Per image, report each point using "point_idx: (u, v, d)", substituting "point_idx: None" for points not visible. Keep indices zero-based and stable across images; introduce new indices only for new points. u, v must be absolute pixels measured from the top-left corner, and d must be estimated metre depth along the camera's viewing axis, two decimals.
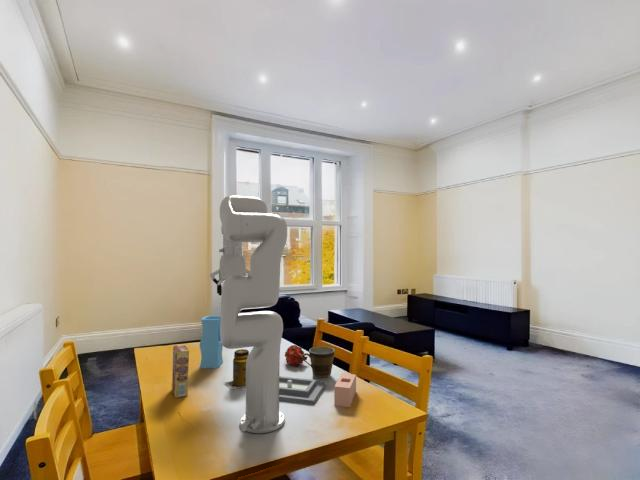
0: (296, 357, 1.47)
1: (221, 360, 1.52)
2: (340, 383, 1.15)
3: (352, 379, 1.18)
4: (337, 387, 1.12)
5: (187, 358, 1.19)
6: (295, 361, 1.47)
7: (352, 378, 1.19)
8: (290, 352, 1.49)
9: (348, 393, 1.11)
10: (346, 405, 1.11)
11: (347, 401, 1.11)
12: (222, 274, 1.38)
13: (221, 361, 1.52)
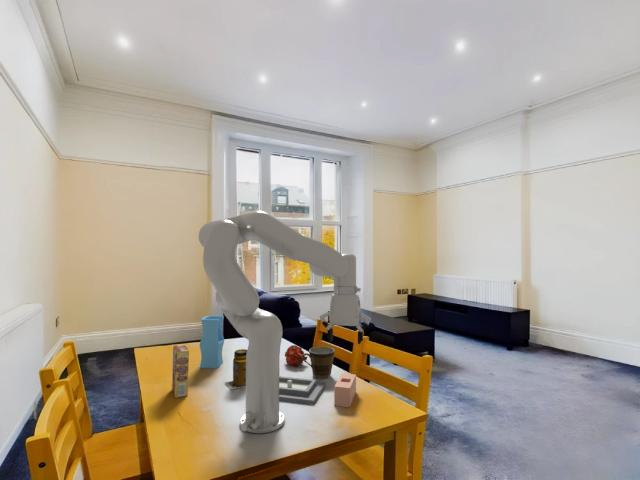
0: (296, 357, 1.47)
1: (221, 360, 1.52)
2: (340, 383, 1.15)
3: (352, 379, 1.18)
4: (337, 387, 1.12)
5: (187, 358, 1.19)
6: (295, 361, 1.47)
7: (352, 378, 1.19)
8: (290, 352, 1.49)
9: (348, 393, 1.11)
10: (346, 405, 1.11)
11: (347, 401, 1.11)
12: None
13: (221, 361, 1.52)
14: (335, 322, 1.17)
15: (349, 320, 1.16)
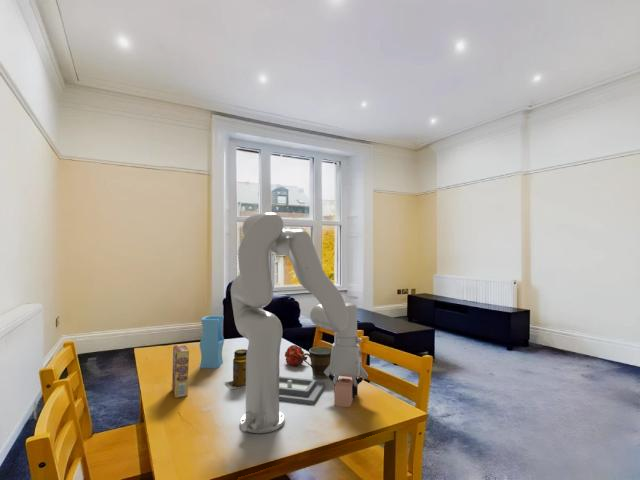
0: (296, 357, 1.47)
1: (221, 360, 1.52)
2: (340, 383, 1.15)
3: None
4: (337, 387, 1.12)
5: (187, 358, 1.19)
6: (295, 361, 1.47)
7: None
8: (290, 352, 1.49)
9: (348, 393, 1.11)
10: (346, 405, 1.11)
11: (347, 401, 1.11)
12: None
13: (221, 361, 1.52)
14: (336, 373, 1.16)
15: (350, 371, 1.15)
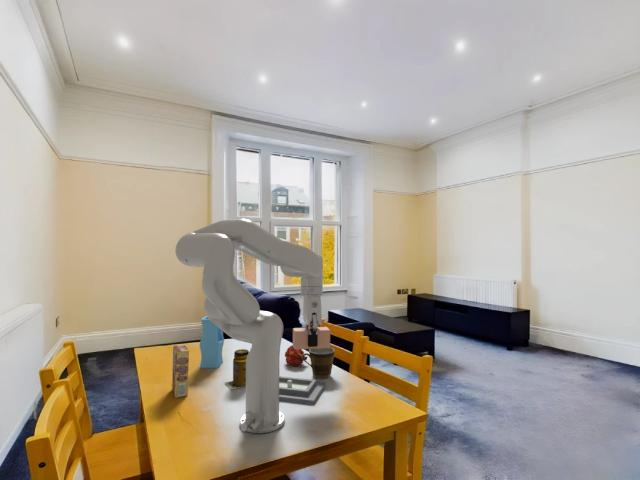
0: (296, 357, 1.47)
1: (221, 360, 1.52)
2: (301, 328, 1.22)
3: None
4: (293, 329, 1.21)
5: (187, 358, 1.19)
6: (295, 361, 1.47)
7: (319, 330, 1.20)
8: (290, 352, 1.49)
9: (294, 336, 1.18)
10: (294, 347, 1.18)
11: (294, 343, 1.18)
12: (321, 318, 1.18)
13: (221, 361, 1.52)
14: (303, 319, 1.24)
15: (305, 319, 1.19)
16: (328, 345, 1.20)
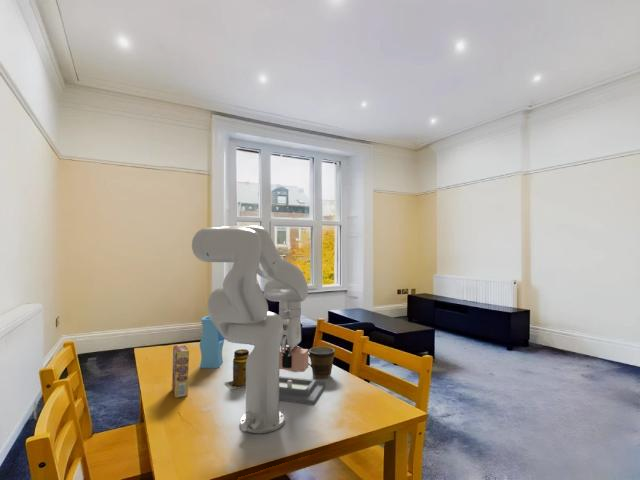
0: None
1: (221, 360, 1.52)
2: None
3: (291, 352, 1.21)
4: None
5: (187, 358, 1.19)
6: None
7: (294, 352, 1.21)
8: None
9: None
10: None
11: None
12: (292, 341, 1.19)
13: (221, 361, 1.52)
14: None
15: None
16: (302, 368, 1.20)
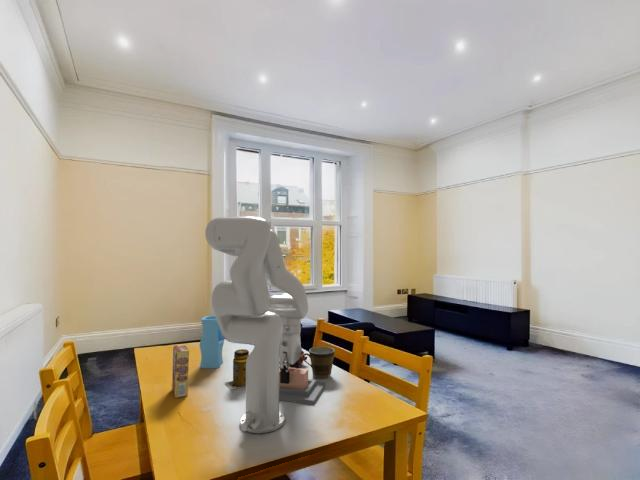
0: None
1: (221, 360, 1.52)
2: None
3: (291, 372, 1.21)
4: None
5: (187, 358, 1.19)
6: None
7: (294, 372, 1.21)
8: None
9: None
10: None
11: None
12: (292, 358, 1.19)
13: (221, 361, 1.52)
14: None
15: None
16: None
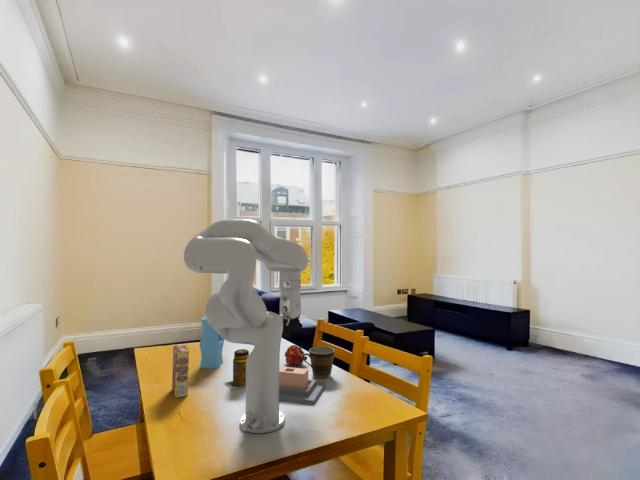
0: (296, 357, 1.47)
1: (221, 360, 1.52)
2: (282, 368, 1.25)
3: (291, 372, 1.21)
4: None
5: (187, 358, 1.19)
6: (295, 361, 1.47)
7: (294, 372, 1.21)
8: (290, 352, 1.49)
9: None
10: None
11: None
12: (292, 312, 1.19)
13: (221, 361, 1.52)
14: None
15: None
16: None
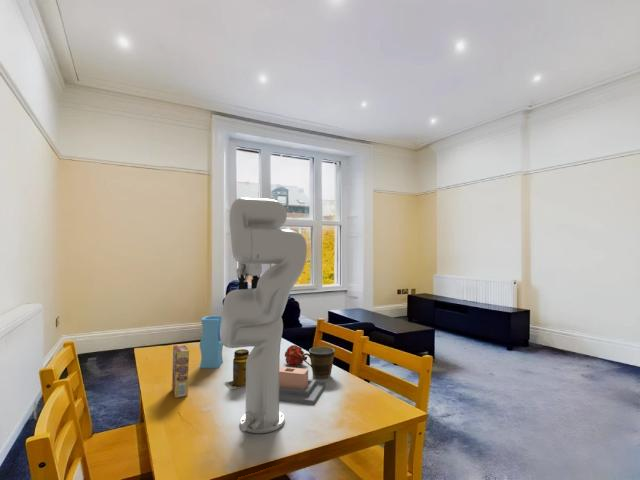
0: (296, 357, 1.47)
1: (221, 360, 1.52)
2: (282, 368, 1.25)
3: (291, 372, 1.21)
4: None
5: (187, 358, 1.19)
6: (295, 361, 1.47)
7: (294, 372, 1.21)
8: (290, 352, 1.49)
9: None
10: None
11: None
12: (251, 269, 1.20)
13: (221, 361, 1.52)
14: None
15: None
16: None
